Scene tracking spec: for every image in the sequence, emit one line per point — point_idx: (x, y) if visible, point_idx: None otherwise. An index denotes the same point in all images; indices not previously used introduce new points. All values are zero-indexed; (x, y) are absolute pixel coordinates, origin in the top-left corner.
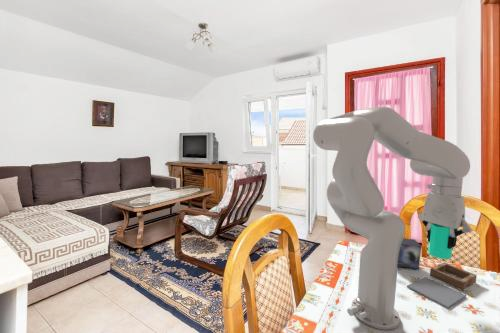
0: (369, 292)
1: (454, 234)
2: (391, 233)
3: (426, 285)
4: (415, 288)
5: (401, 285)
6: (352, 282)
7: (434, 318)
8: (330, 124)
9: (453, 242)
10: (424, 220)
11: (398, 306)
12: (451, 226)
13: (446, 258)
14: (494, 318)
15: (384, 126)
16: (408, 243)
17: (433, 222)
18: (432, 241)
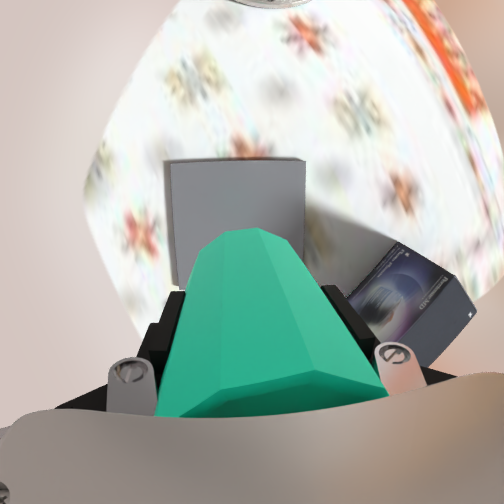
0: None
1: (109, 382)
2: None
3: (271, 228)
4: (280, 170)
5: (319, 155)
6: (395, 39)
7: (169, 78)
8: None
9: (146, 339)
10: (484, 375)
11: (254, 35)
12: (61, 427)
13: (195, 262)
14: (98, 245)
15: None
16: (412, 338)
17: (384, 408)
18: (293, 269)
